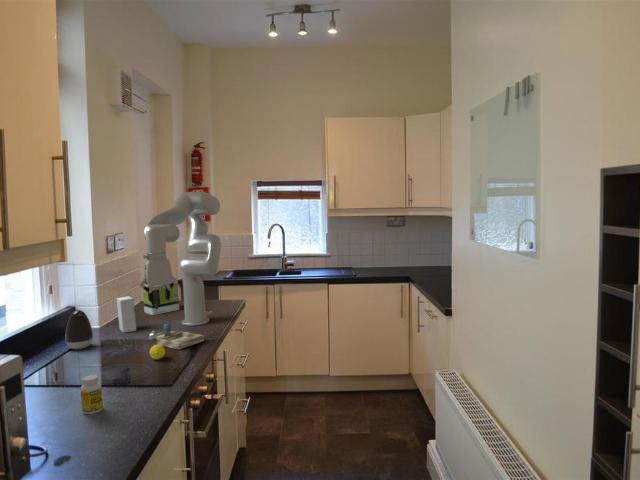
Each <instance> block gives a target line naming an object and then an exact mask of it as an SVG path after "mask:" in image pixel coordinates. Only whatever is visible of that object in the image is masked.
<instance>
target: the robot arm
mask: <svg viewBox="0 0 640 480" xmlns="http://www.w3.org/2000/svg"><path fill="white" fill-rule="evenodd" d="M220 203H221V202H220V200H219V199H218V198H217V197H216V196H214V195H213V194H210V193H209V192H206V191H185V192H182V193H181V194H179V195H178V197H177V198H176V200H175V201H174V202H173V204H172V205H171V207H170V208H168V209H165V210H164V211H162V212H160V213H158V214H156V215H154V216H153V217H152V218H151V219H150V220H149V221H148V223H147V224H146V226H145V227H144V231H143V236H144V239H145V246H146V247H145V248H146V254H143V255H142V256H143V257H142V258H143V259H146V260H145V263H144V277H143V279H141V280H140V282H139V284H138V286H139V287H140V288H141V289H142V290H143V289H144V290H146V291H147V292H148V300H149V301H150V302H151V303H153V302H154V297H153V293H152V289H153V286H158V285H164V286H165V288H166V290H165V299H166V300H169V298H170V290H171V288H172V287H173V286H174V284H175V283H177V282H178V280H177V278H176V277H174V275H173V272H172V266H171V261H170V258H168V257H167V255H168V254H167V243H174V242H176V241H177V240H178V239H179V238H180V236H181V232H180V228H179V227H178V226H177V225H180V224H183V223H184V222H186V221H187V220H188V222H189V229H188V230H189V231H188V236H187V243H186V250H187V252H188V253H189V254H190V255H187V256H184V257H182V258H181V259H180V261H179V270H180V274H181V279H182V290H183V306H184V307H183V309H184V312H183V313H184V319H182V320H181V325H184V326H188V327H189V326H190V327H191V326H194V327H195V326H202V325H206V324H208V323H210V319H209V316H212V315H213V314H214V313H213V310H210V311H206V299H205V285H204V281H203V280H202V279H201V277H213V276H215V275H216V274H217V272H218V269H219V265H220V264H219V263H220V257H221V248H222V242H221V238H220V237H219V236H218V234H213V233H212V234H211V233H210V234H208V231H209V226H208V225H209V224H208V223H207V222H206V220H205V219H204V218H203V216H215V215H217V214H218V213H219V212H220V210H221V204H220ZM145 285H148V288H147V287H146V286H145Z"/></svg>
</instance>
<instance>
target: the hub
mask: <svg viewBox="0 0 640 480" xmlns="http://www.w3.org/2000/svg"><path fill="white" fill-rule="evenodd" d="M160 335H162V332H161V331H159V330H158V329H155V330H151V331H150V332H149V333H148V340H149V341H157V336H160Z"/></svg>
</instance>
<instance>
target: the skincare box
mask: <svg viewBox="0 0 640 480" xmlns="http://www.w3.org/2000/svg"><path fill="white" fill-rule="evenodd" d="M134 303H135V302H134V298H133V297H131V296H129V295H127V296H122V297H117V298H116V307H117V316H118V325H119V326H118V327H119V330H120V331H121V332H122V333H130V332H136V331H137V324H136V314H135V304H134Z"/></svg>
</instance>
